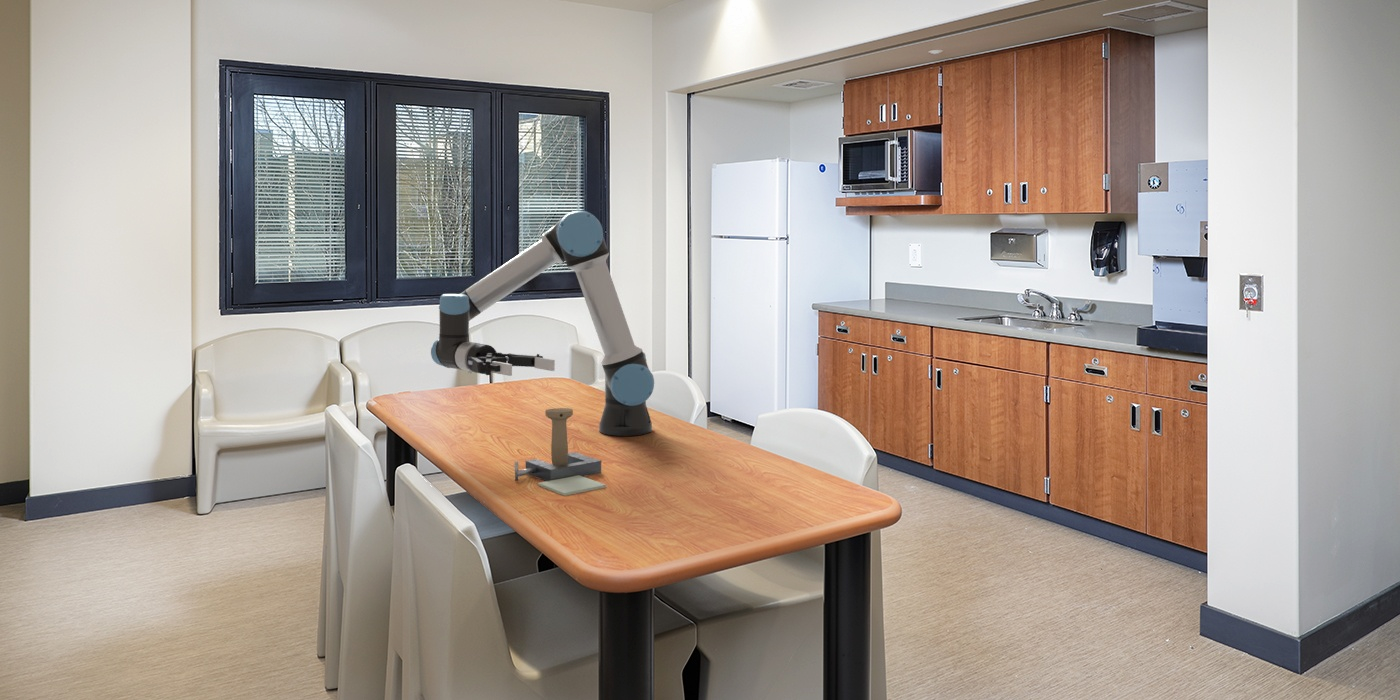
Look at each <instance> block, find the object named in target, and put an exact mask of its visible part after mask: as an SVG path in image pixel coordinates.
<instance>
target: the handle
mask: <svg viewBox="0 0 1400 700" xmlns="http://www.w3.org/2000/svg"><path fill="white" fill-rule="evenodd" d="M573 411H574V410H573V409H572V408H570V407H569V408H566V407H564V408H563V407H562V408H561V407H560V408H548V409H545V411H544V412H545V416H546V417H547V418H548V419H550V420H551V425H552V426H551V443H550V450H551V451H550V454H551V462H552V463H551V464H552V465H555V466H560V465H566V464H567V461H568V453H569V443H568V442H569V441H568V433H567V432H568V429H567V420H568V419H569V418H570V417H572V416H573V413H574V412H573Z"/></svg>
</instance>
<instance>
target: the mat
mask: <svg viewBox="0 0 1400 700" xmlns="http://www.w3.org/2000/svg"><path fill="white" fill-rule="evenodd" d="M537 486H538V487H541V488H543V489H546V490H549V491H551V492H554V493H556V494H558V495H561V496H564V497H567V496H571V495H575V494H581V493H585V492H591V491H594V490H600V489H605V488H607V484H605V483H602V482H600V481H597V480H593V479H591V478H588V477H587V476H580V475H577V476H572V477H567V478H562V479H556V480H551V481H541V482H538V484H537Z"/></svg>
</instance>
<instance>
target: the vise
mask: <svg viewBox="0 0 1400 700" xmlns="http://www.w3.org/2000/svg"><path fill="white" fill-rule="evenodd" d="M601 473H602V460H600V459H597V458H594V457H590V456H587V455H585V454H582V453H579V452H568V461H567V464H566V465H560V466H555V465H553V464H552V463H550V462H546V461H543V460H541V459H538V458H535V459H528V460H525V468H524V469H519V461H517V460H516V461H514V481H515V482H517V481H519V477H523V476H528V475H529V476H532V477H535V478H537V479H540V480H542V481H544V482H546V481H551V480H556V479H562V478H567V477H572V476H577V475H580V476H583V477H588V476H592V475H597V474H601Z"/></svg>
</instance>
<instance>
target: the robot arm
mask: <svg viewBox="0 0 1400 700" xmlns="http://www.w3.org/2000/svg"><path fill="white" fill-rule="evenodd" d="M609 256H610V252H609V249H608V246H607V244H606V240H605V238H604V230H603V225H602V223H601V222H600V220H599V219H598V218H597V216H595V215H594V214H592V213H591V212H589V211H586V210H582V209H581V210H579V209H578V210H577V209H576V210H573V211H570V212H568V213H566V214H564V215H563V216H562V217H561V218H560V219H559V220H558V221H557V222H556V223H555V225H553V226H551V228H549V229H548V230H547V231H545V232H543V233H542V234H541V239H540V240H539V241H537V242H535V243H534V244H532V245H530V246H529V247H528V248H526V249H525V250H523V251H521V252H520V253H519V254H517V255H516V256H514V257H513V258H511V259H510V260H508V261H507V262H505V263H504V264H502V265H501V266H499V267H498V268H496V269H495V270H493V271H492V272H490V273H489V274H487V275H485V276H484V277H483V278H481V279H480V280H478V281H477V282H475V283H474V284H472V285H471V286H469V287H468V288H466V289H465V290H464V291H462V292H461V293H443V294H441V295H440V298H439V305H438V311H439V334H438V335H439V336H438V339H436V340H435V341H434V342H433V344H432V347H430V355H431V359H432V361H433V362H434V363H435V364H437V365H438V366H441V367H444V368H448V369H456V370H462V371H467V372H468V374H469V375H470V374H472V373H476V374H480V375H485V376H491V375H492V373H493V374H497V375H503V376H509V377H511V376H513V367H527V368H530V367H531V368H535V369H540V370H544V371H551V372H555V365H556V364H555V362H556V361H555V359H550V358H545V357H544V356H543V355H540V354H538V353H537V354H536V355H527V354H515V353H502V352H497V350H496V349H495V348H494V347H493V346H492V345H489V344H486V343H485V344H484V343H480V342H472V341H469V338H470V337H469V336H470V334H469V333H470V328H469V327H470V321H471V320H473V319H474V318H476V317H477V316H478V315H480V314H481V313H483V312H484V311H486V310H487V309H489V308H490V307H492V306H493V305H495V304H497V302H499V301H501V300H502V299H504V298H505V297H507V296H509V295H510V294H511V293H514V292H515V291H516V290H518V289H520V288H521V287H522V286H523V285H525V284H527V283H528V282H529V281H532V280H533V279H534V278H536V277H537V276H539V275H540V274H541V273H543V272H544V271H546V270H548V269H549V268H551V267H552V266H554V265H555V264H557V263H560V264H563V263H565V264H566V266H567V269H570V270H572V271H573V272H574V273H575V275H576V278H577V280H578V284H579V286H580V289H581V291H582V294H583V298H584V301H585V303H586V307H587V308H588V311H589V315H590V318H591V321H592V323H593V327H594V329H595V332H596V334H597V337H598V341H599V344H600V347H601V348H602V349H601V350H602V351H603V354H604V356H603V359H602V361H601V366H602V368H603V372H604V377H605V378H604V382H605V383H604V384H605V386H604V393H605V395H604V397H605V399H604V400H605V401H604V402H605V403H604V404H605V405H604V408H603V411H602V414H601V418H600V421H599V425H598V426H599V432H600V433H601V434H603V435H608V436H618V437H630V436H631V437H632V436H641V435H646V434H650V433H651V432H653V424H652V423H653V422H652V420H651V417H650V413H649V410H648V407H647V404H646V403H647V402H646V401H647V400H649V398H650V397H651V395H652V393H653V391H654V389H655V378H654V374H653V373H652V372H651V370H650V368H649V365H648V362H647V358H646V356H647V355H646V353H645V352H643V349H642V348H641V347H639V346H637V345H636V344H635V343H634V340H633V337H632V334H631V331H630V328H629V327H630V326H629V325H628V323H627V318H626V316H625V313H624V310H623V308H622V304H621V302H620V301H621V300H620V298H619V296H618V293H617V291H616V288H615V287H616V286H615V285H614V281H613V278H612V276H611V272H610V270H609V267H608V263H607V260H608V257H609Z"/></svg>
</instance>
